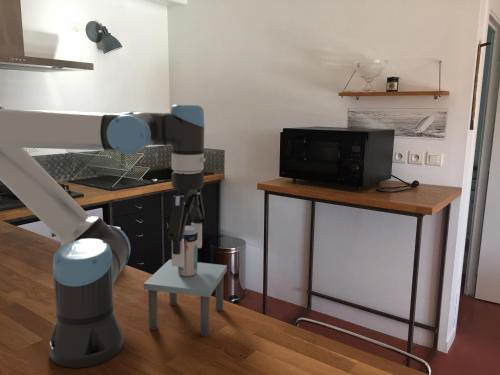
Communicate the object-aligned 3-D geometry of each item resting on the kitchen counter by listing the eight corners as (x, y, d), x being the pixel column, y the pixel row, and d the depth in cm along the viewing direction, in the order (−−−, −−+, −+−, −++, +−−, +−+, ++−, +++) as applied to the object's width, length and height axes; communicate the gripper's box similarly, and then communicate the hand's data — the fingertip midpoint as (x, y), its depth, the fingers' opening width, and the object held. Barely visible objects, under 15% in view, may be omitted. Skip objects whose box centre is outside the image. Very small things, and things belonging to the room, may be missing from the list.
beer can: (176, 271, 108) (176, 225, 106) (195, 269, 110) (195, 224, 107) (179, 278, 104) (179, 231, 101) (199, 276, 105) (199, 229, 103)
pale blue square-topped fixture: (208, 338, 100) (209, 291, 98) (144, 330, 103) (143, 283, 101) (226, 307, 115) (226, 265, 113) (169, 300, 118) (169, 259, 116)
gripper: (184, 181, 89) (184, 277, 93) (217, 164, 113) (216, 241, 117) (151, 178, 90) (152, 273, 95) (190, 163, 114) (190, 239, 119)
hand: (187, 256), depth 106 cm, fingers open, 13 cm apart
